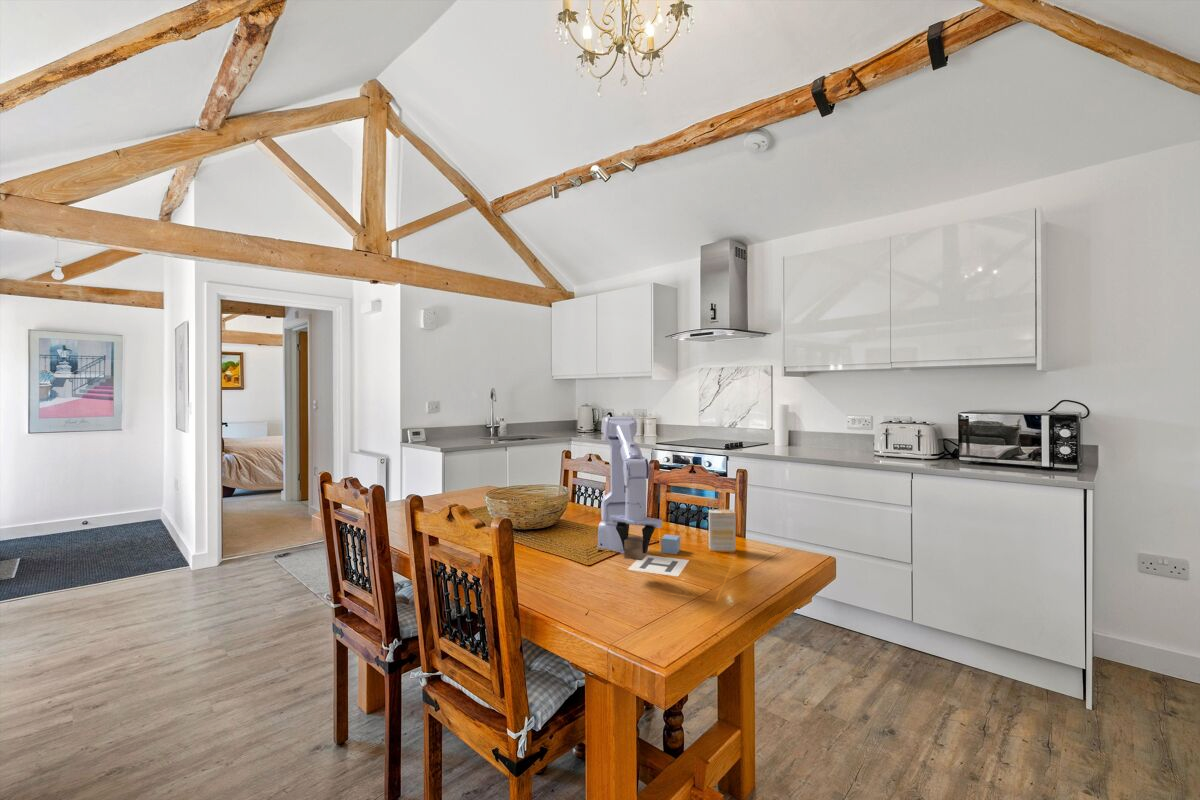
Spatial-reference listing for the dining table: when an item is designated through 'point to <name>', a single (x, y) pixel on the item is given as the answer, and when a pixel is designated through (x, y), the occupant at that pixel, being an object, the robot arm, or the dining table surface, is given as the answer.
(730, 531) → the supplement box
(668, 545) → the slate blue cube
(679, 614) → the dining table surface
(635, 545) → the walnut block
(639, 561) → the letter board
